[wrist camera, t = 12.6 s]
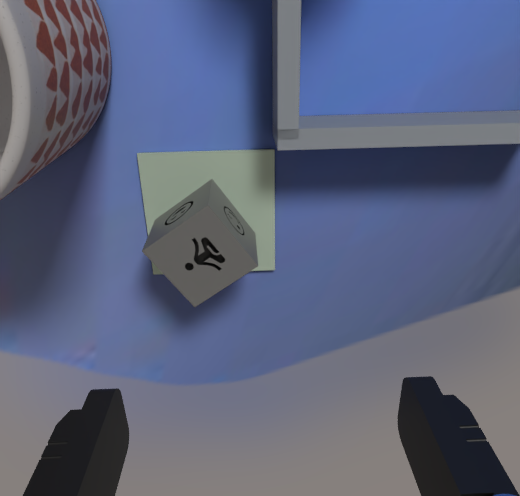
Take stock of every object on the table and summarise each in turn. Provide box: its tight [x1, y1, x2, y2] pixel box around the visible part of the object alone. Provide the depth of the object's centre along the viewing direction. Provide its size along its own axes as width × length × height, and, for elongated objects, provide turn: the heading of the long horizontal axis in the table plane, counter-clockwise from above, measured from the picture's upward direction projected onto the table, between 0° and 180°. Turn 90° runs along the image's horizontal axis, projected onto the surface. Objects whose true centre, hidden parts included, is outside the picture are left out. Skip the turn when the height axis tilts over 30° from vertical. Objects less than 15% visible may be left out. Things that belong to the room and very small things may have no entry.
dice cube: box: [142, 179, 258, 307], centre depth 30 cm, size 5×5×5 cm
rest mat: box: [137, 149, 275, 275], centre depth 32 cm, size 9×9×1 cm
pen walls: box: [272, 0, 520, 150], centre depth 26 cm, size 17×11×4 cm, turn 91°
